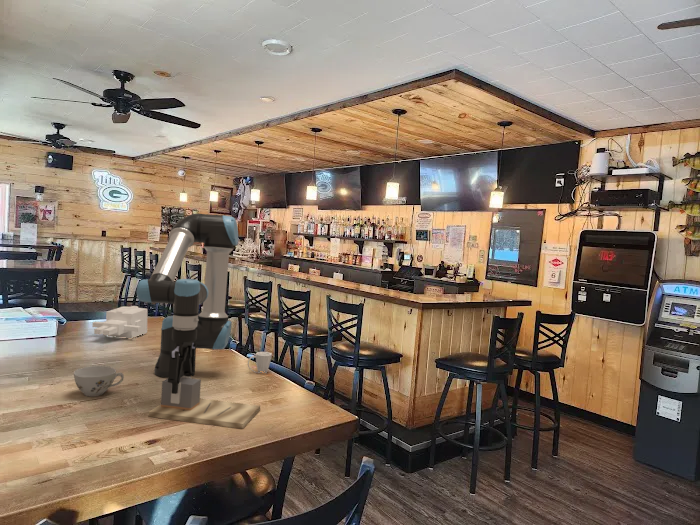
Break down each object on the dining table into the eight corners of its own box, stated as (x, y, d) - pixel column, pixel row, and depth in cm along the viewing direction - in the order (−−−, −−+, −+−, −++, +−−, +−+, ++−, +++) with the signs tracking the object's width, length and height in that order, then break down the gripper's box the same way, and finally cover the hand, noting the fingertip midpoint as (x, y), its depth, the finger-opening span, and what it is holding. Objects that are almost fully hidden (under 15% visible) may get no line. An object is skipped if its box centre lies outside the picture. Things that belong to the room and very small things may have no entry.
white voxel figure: (78, 344, 226) (114, 330, 253) (125, 349, 223) (157, 334, 250) (78, 314, 224) (115, 303, 252) (125, 319, 221) (157, 307, 248)
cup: (272, 374, 194) (274, 355, 194) (248, 375, 190) (250, 356, 190) (268, 369, 201) (270, 351, 201) (245, 370, 197) (246, 351, 197)
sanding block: (160, 406, 146) (162, 381, 146) (170, 400, 152) (171, 376, 152) (190, 410, 145) (192, 385, 144) (199, 403, 151) (200, 379, 150)
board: (148, 416, 141) (148, 411, 141) (174, 399, 157) (174, 395, 157) (242, 428, 137) (243, 423, 137) (260, 410, 153) (260, 405, 153)
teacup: (71, 401, 148) (72, 377, 148) (73, 389, 159) (74, 366, 159) (123, 397, 155) (124, 374, 155) (122, 386, 166) (123, 364, 166)
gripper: (181, 334, 137) (176, 411, 138) (208, 324, 156) (204, 391, 157) (157, 332, 138) (153, 408, 139) (187, 322, 157) (183, 389, 158)
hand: (180, 399), depth 148 cm, fingers closed on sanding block, 6 cm apart
